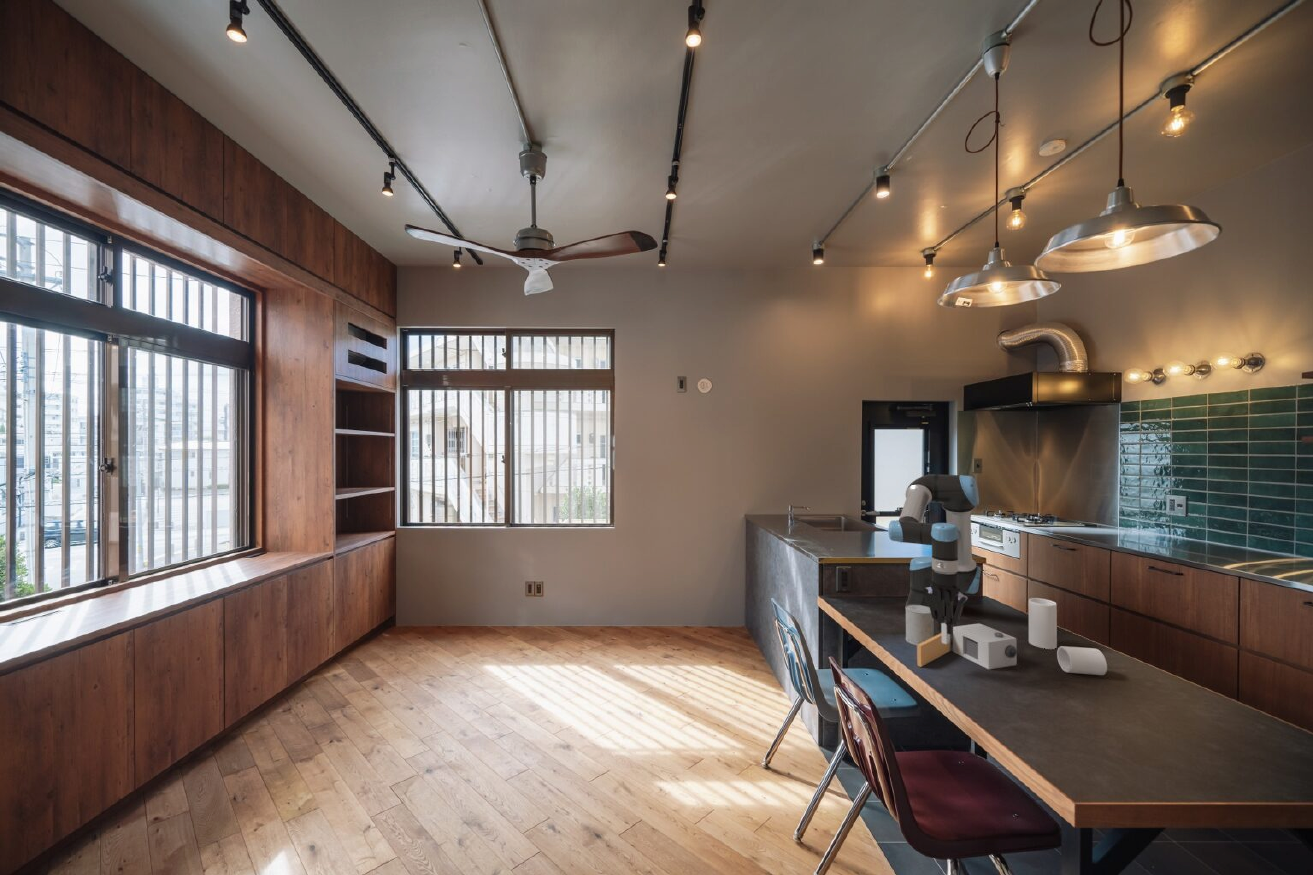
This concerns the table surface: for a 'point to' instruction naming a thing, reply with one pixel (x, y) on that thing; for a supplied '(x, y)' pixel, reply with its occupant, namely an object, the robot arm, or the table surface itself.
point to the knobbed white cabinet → (985, 646)
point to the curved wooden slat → (931, 649)
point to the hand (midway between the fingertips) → (945, 642)
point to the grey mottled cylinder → (918, 624)
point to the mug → (1081, 660)
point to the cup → (1043, 623)
